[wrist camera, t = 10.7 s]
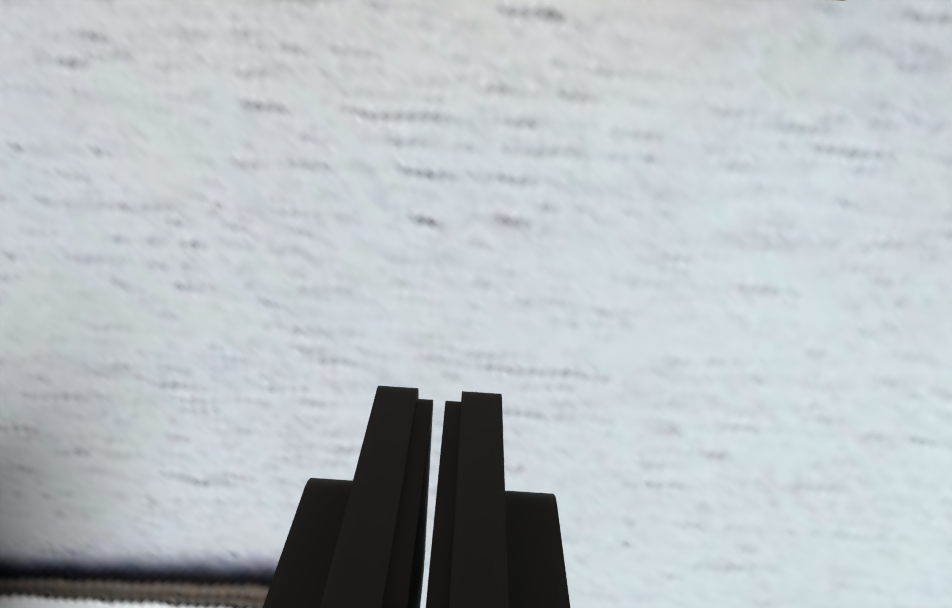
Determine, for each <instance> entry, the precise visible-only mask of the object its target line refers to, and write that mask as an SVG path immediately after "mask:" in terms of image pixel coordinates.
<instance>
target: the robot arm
mask: <svg viewBox="0 0 952 608" xmlns="http://www.w3.org/2000/svg"><path fill="white" fill-rule="evenodd" d="M432 414H433V400H426V399H418V388H405V387H390V386H378V388H377V391H376V395H375V399H374V402H373V406H372V410H371V414H370V418H369V422H368V425H367V429H366V433H365V437H364V441H363V445H362V449H361V452H360V456H359V460H358V464H357V468H356V472H355V475H354V479H353V481H349V480H334V479H319V478H310V479H309V480H308V482H307V484H306V486H305V488H304V491H303V494H302V497H301V500H300V503H299V505H298V508H297V511H296V514H295V517H294V520H293V523H292V525H291V528H290V531H289V534H288V537H287V540H286V543H285V545H284V548H283V551H282V554H281V557H280V560H279V563H278V565H277V568H276V571H275V574H274V577H273V580H272V583H271V585H270V588H269V591H268V594H267V597H266V600H265V603H264V605H263V608H420V602H421V593H422V583H423V572H424V559H425V542H426V523H427V505H428V487H429V469H430V451H431V432H432ZM426 608H570V602H569V594H568V586H567V579H566V571H565V563H564V555H563V548H562V540H561V532H560V524H559V516H558V509H557V502H556V497H555V495H554V494H547V493H532V492H517V491H505V480H504V450H503V419H502V395H501V394H494V393H479V392H464V391H462V399H461V402H456V401H446V402H445V412H444V423H443V433H442V444H441V454H440V464H439V475H438V485H437V496H436V506H435V516H434V527H433V537H432V548H431V558H430V568H429V579H428V589H427V600H426Z"/></svg>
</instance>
